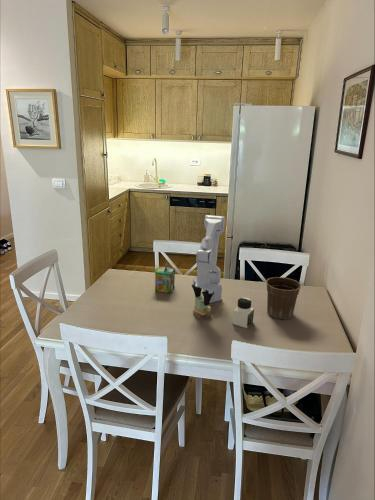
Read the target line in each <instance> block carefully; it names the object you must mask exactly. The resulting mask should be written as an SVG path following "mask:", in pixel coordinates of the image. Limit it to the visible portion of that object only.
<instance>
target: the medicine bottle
mask: <svg viewBox="0 0 375 500" xmlns="http://www.w3.org/2000/svg"><path fill="white" fill-rule="evenodd" d="M254 312H255V308H253V307H252V300H251V299H250V298H247V297H240V298H238V299H237V307H236V308H235V309H234V310H233V314H232V315H233V316H232V317H233V318H232V324H233V326H234V325H235V326H238V327H241V328H245V329H248V328H249V327H250V326H251V325H252V324H253V322H254V314H255V313H254Z"/></svg>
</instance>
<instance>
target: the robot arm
mask: <svg viewBox="0 0 375 500" xmlns="http://www.w3.org/2000/svg"><path fill="white" fill-rule="evenodd" d="M203 224H204V228H205V237H203V238H202V239H201V242H200V246H199V249H198V250H197V251H196V253H195V260H196V266H197V267H196V274H197V275H196V278H193V279H192V284H191V288H192V289H193V293H194V299H195V298H196V297H200V296H203V297H204V305H205V306H207V305H208V306H210V304H212V303H216V302H219V301H222V300H223V299H222V293H223V287H222V284H221V278H222V277H221V276H222V273H221V268H220V267H218V266H217V261H218V252H219V251H218V249H219V243H220V237H221V234H223V233H224V232H225V226H226V217H225V216H224V215H223V216H222V215H209V214H206V215H205V216H204V220H203Z"/></svg>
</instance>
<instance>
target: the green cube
mask: <svg viewBox="0 0 375 500" xmlns="http://www.w3.org/2000/svg"><path fill="white" fill-rule="evenodd" d="M194 299H195V300H194V307H197V308H198V309H199V310H202V309H206V308H208V306H209V305H207V306H205V305H204V297H203V295H201V296H200V297H196V298H195V297H194Z"/></svg>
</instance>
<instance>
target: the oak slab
mask: <svg viewBox="0 0 375 500" xmlns="http://www.w3.org/2000/svg"><path fill="white" fill-rule="evenodd" d="M193 310H194V311H195V312H197V313H199V314H201V315H205V314H207V313H209V312H210V313H211V311H212V308H211V306H210V305H208V308H206V309H202V310H199V309H198V308H197V307H195V306H194V309H193Z"/></svg>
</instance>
